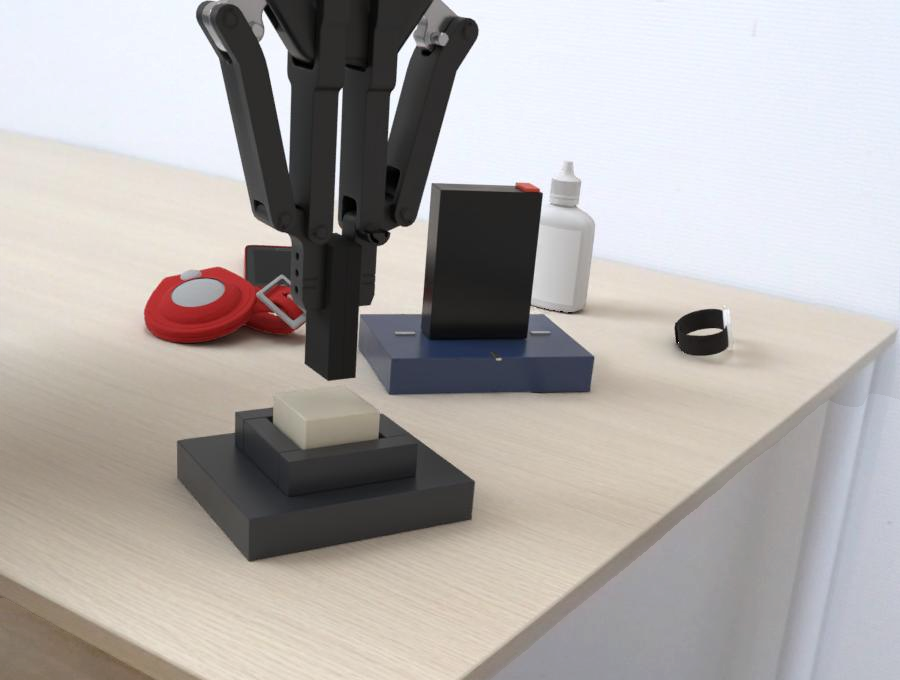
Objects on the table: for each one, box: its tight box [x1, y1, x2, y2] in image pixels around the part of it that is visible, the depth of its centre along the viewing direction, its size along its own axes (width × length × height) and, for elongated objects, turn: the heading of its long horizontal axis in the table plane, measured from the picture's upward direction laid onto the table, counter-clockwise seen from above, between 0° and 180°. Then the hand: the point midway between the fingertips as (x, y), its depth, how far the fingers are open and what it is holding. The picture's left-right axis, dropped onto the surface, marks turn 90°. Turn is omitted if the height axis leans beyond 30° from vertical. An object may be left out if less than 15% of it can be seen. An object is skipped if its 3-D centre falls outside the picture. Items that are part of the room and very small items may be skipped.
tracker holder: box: [143, 266, 306, 344], centre depth 86 cm, size 12×4×10 cm
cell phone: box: [243, 244, 292, 289], centre depth 100 cm, size 8×15×1 cm, turn 9°
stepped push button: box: [176, 406, 476, 563], centre depth 60 cm, size 12×10×4 cm
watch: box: [673, 304, 734, 357], centre depth 90 cm, size 8×5×4 cm, turn 170°
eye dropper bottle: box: [531, 160, 596, 313], centre depth 97 cm, size 4×6×12 cm
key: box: [272, 384, 381, 450], centre depth 59 cm, size 4×4×2 cm
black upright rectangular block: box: [421, 181, 544, 339], centre depth 79 cm, size 7×2×10 cm, turn 106°
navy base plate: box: [357, 313, 595, 396], centre depth 81 cm, size 14×11×3 cm
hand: (329, 370), depth 58 cm, fingers closed
